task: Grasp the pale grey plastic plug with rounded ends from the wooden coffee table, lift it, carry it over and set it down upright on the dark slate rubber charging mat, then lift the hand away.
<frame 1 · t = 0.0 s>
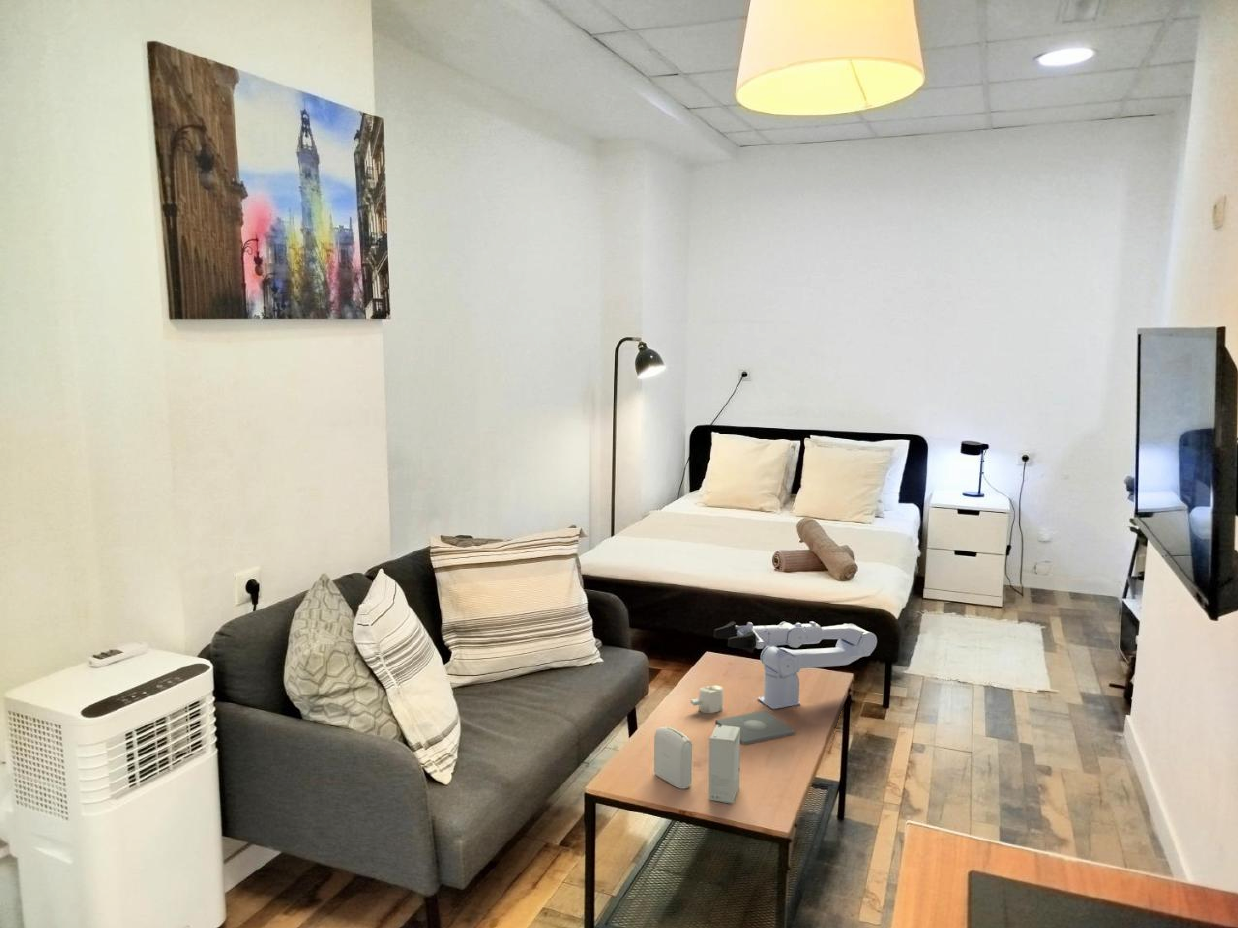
hand: (721, 637, 237), 22 cm above the table, tool horizontal, fingers open, 7 cm apart
charging mat: (754, 728, 231), on the table
skincare box: (723, 794, 197), on the table
photo printer: (672, 780, 203), on the table
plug: (710, 709, 242), on the table
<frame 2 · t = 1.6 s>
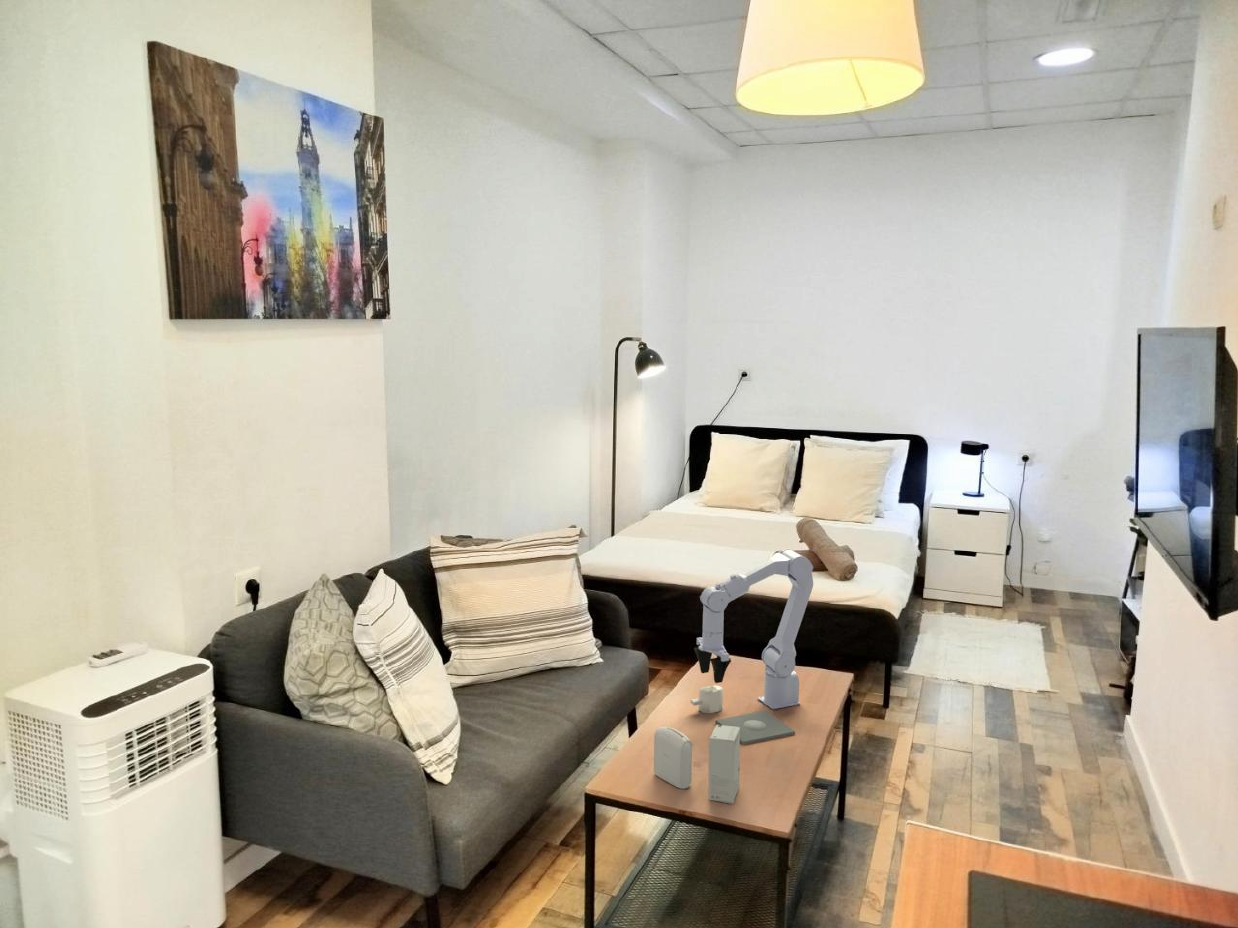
hand: (711, 677, 241), 9 cm above the table, tool pointing down, fingers open, 7 cm apart
nothing on the table moved.
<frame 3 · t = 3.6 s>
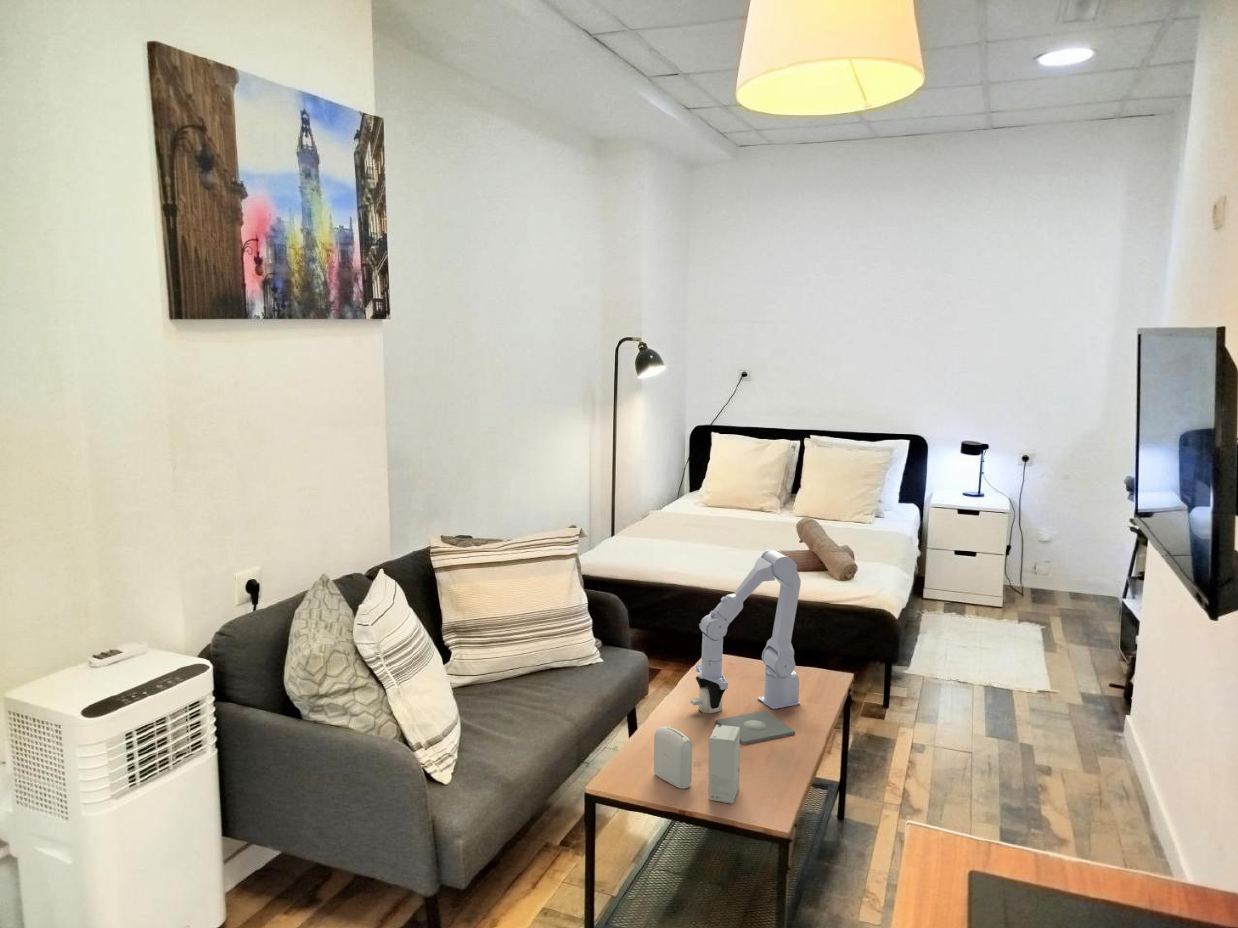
hand: (710, 704, 242), 1 cm above the table, tool pointing down, fingers closed on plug, 4 cm apart
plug: (710, 709, 242), on the table, touching gripper
everything else where it was.
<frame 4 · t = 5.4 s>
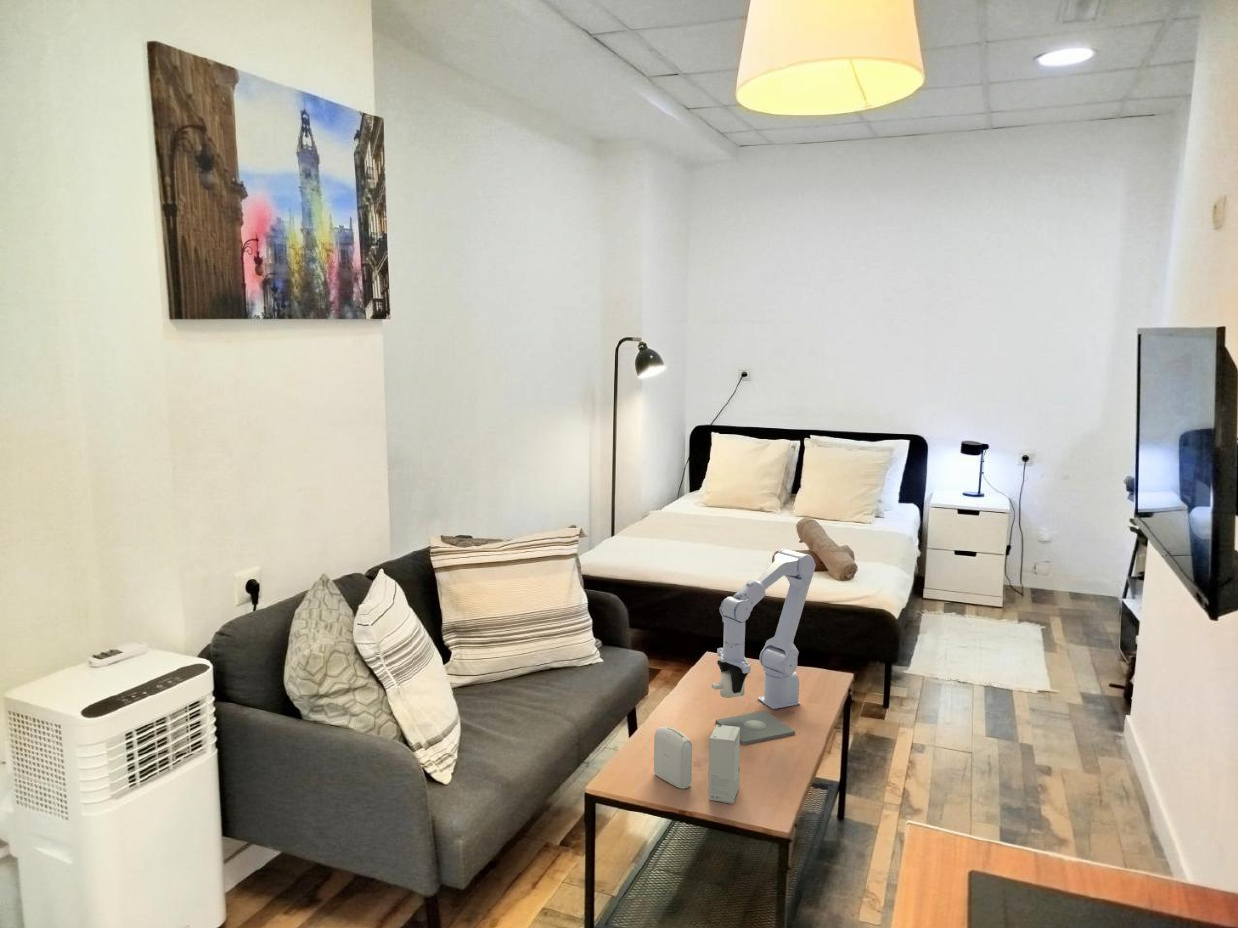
hand: (732, 689, 235), 8 cm above the table, tool pointing down, fingers closed on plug, 4 cm apart
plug: (732, 694, 236), point 7 cm above the table, touching gripper
everything else where it was.
when the fingers open (4 cm above the table, at t = 7.6 s): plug drops 2 cm, resting on charging mat.
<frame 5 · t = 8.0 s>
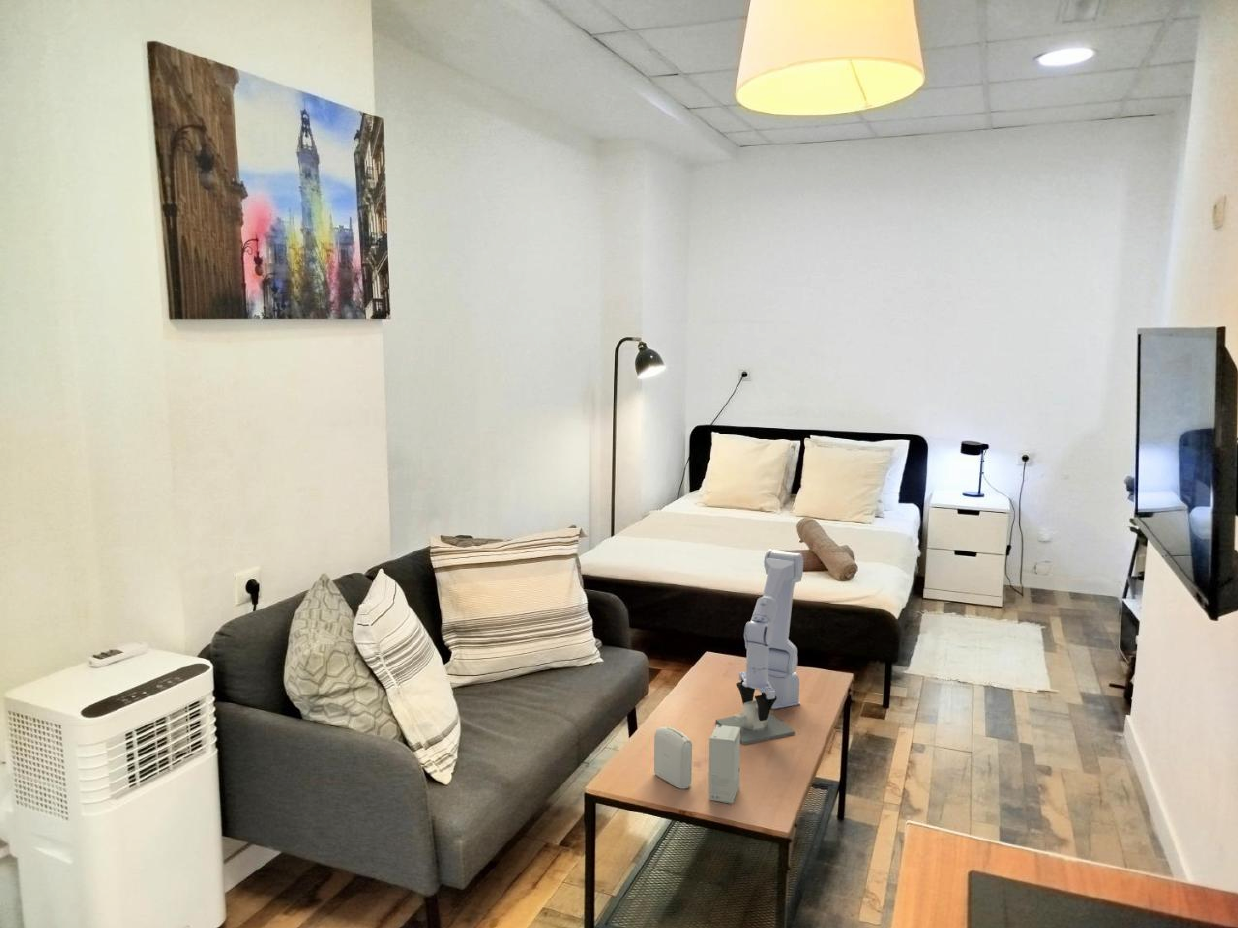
hand: (755, 714, 230), 4 cm above the table, tool pointing down, fingers open, 7 cm apart
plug: (754, 725, 231), point 1 cm above the table, touching charging mat
everything else where it was.
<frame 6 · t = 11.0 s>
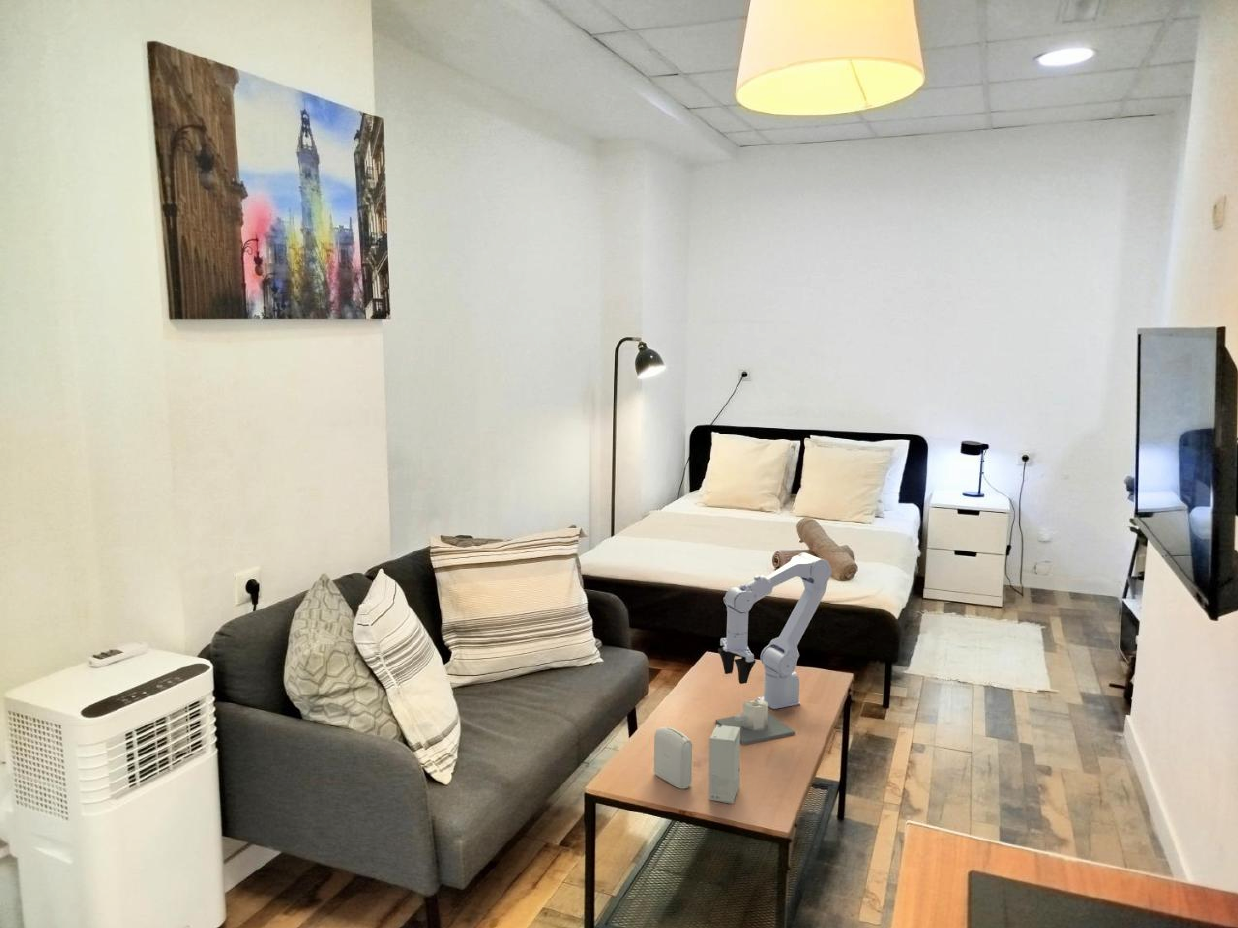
hand: (735, 678, 241), 9 cm above the table, tool pointing down, fingers open, 7 cm apart
nothing on the table moved.
at the end: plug inside the target area on the charging mat (0.0 cm from its centre), point 0.9 cm above the charging mat's base; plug tilted 0°; the gripper is holding nothing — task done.
